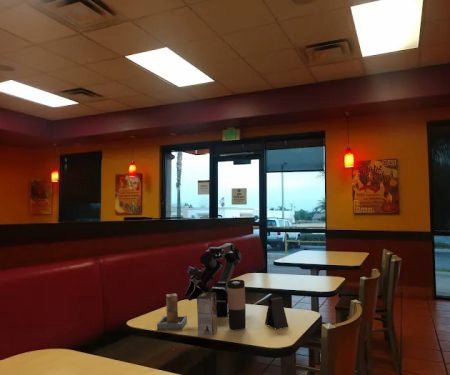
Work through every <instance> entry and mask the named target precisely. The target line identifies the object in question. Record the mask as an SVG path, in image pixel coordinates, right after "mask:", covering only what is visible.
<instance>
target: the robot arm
mask: <svg viewBox="0 0 450 375" xmlns="http://www.w3.org/2000/svg"><path fill="white" fill-rule="evenodd" d="M223 258H224V260H225V265H224V267H223V264H224V263H222V262H221V261H219V260H223ZM199 261H200V263H201V264H202V266H204V268H201V269H199V268H198V267H192V266H188V268H187V271H186V273H187V275H189V284H188V287H187V289H186V291H185V293H184V296H185V297H188V296H189V297H188V299H187V300H188V301H189V302H190V301H193V300H195V299H197V297H198V296H199V295H200V294H201V293H202V292H216V305H217V318H229V315H228V281H230V280H231V278H232V275H233V272H234V269H235V267H237V266H238V265H239V264H240V263H241V261H242V253H241V250H240V249H238V248H237V247H236V246H235V244H234V243H224V244H223V245H220V246H210V247H208V249H207V250H205V251H204V253H203V254H202V255H201V256H200V257H199ZM220 269H221V270H222V273H221V275H220V278H219V280H218V282H214V283H213V284H212V287H211V290H210V286H209V285H208V284H209V282H210V281H211V280H214V277H215V275H216V274H217V273H218V272H219V271H220Z"/></svg>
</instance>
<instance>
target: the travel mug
mask: <svg viewBox="0 0 450 375" xmlns="http://www.w3.org/2000/svg"><path fill="white" fill-rule="evenodd" d="M245 284H246V283H245V280H243V279H230V281H228V286H227V288H228V325H229V326H228V327H229V329H230V330H233V331H241V330H244V329H246V324H247V322H246V318H247V317H246V313H247V312H246V306H247V305H246V287H245V286H246V285H245Z"/></svg>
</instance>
